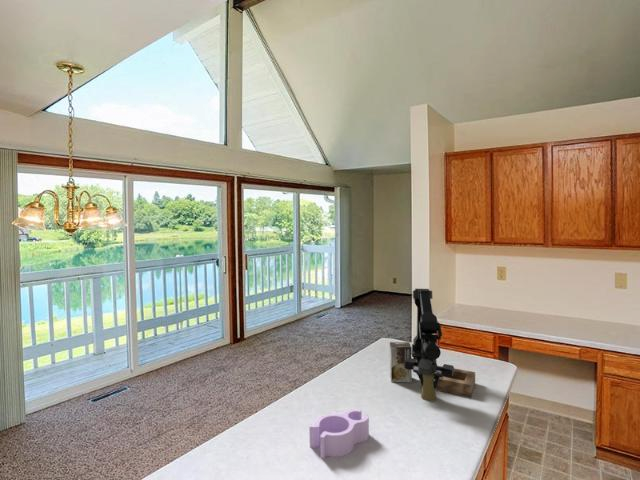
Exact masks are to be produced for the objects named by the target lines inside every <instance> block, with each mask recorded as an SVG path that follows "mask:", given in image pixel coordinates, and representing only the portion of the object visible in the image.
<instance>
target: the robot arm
mask: <svg viewBox="0 0 640 480" xmlns="http://www.w3.org/2000/svg"><path fill="white" fill-rule="evenodd" d="M412 299H413V302H414V304H415V306H416V309H417V310H416V335H415V337H414V338H413V339H412V341H413V342H412V344H411V358H408V359H407V360H406V361H405V363H404V368H405V369H409V370H412V372H413V373H415V374H416V375H417V377H418V379H419V381H420V384H421V387H422V386H423V377H422V374H425V375H428V376H430V375H431V374H432V373H434V372H435V379H434V389H436V386H437V383H438V380H439V378H440V377H443V376H446V377H452V376H453V374H454V368H455V367H454V365H451V364H447V363H446V364H445V363H443V365H441V366H440V365H438V363H437V359H439V358H440V356H441V354H442V352H441V349H440V346H439V344H438V342H437V341H438V340H440V341H441V339H442V335H443V334H442V333H443V332H442V325H441V324H440V321H438V317H437V316H436V315H435V314H434V313H433V308H432V301H431V300H432V299H433V290H430V289H429V288H415V289H413V290H412ZM442 366H443V367H442Z"/></svg>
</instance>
